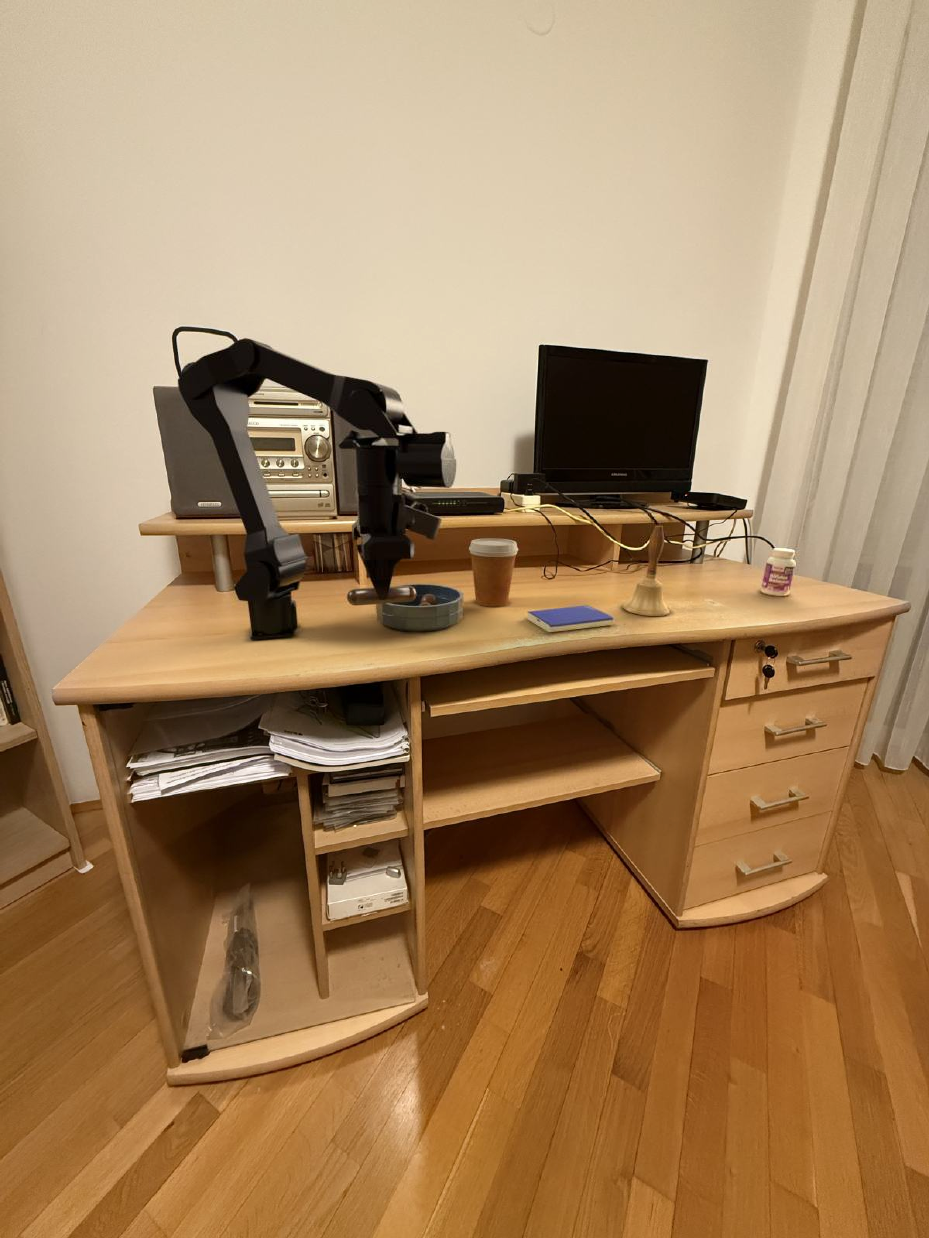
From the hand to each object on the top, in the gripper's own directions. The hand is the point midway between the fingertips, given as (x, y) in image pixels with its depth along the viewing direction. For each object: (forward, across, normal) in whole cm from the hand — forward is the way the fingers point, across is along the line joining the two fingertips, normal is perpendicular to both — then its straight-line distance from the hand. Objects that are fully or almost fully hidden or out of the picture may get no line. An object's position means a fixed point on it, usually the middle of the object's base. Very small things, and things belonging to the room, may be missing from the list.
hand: (381, 597), depth 71 cm
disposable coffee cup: (+8, +19, -24) cm, 31 cm away
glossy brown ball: (+6, +14, -11) cm, 19 cm away
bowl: (+8, +12, -8) cm, 16 cm away
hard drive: (+8, +4, -33) cm, 34 cm away
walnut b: (+6, +9, -7) cm, 13 cm away
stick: (+1, 0, 0) cm, 1 cm away
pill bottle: (+8, +10, -87) cm, 88 cm away
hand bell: (+8, +7, -51) cm, 52 cm away
